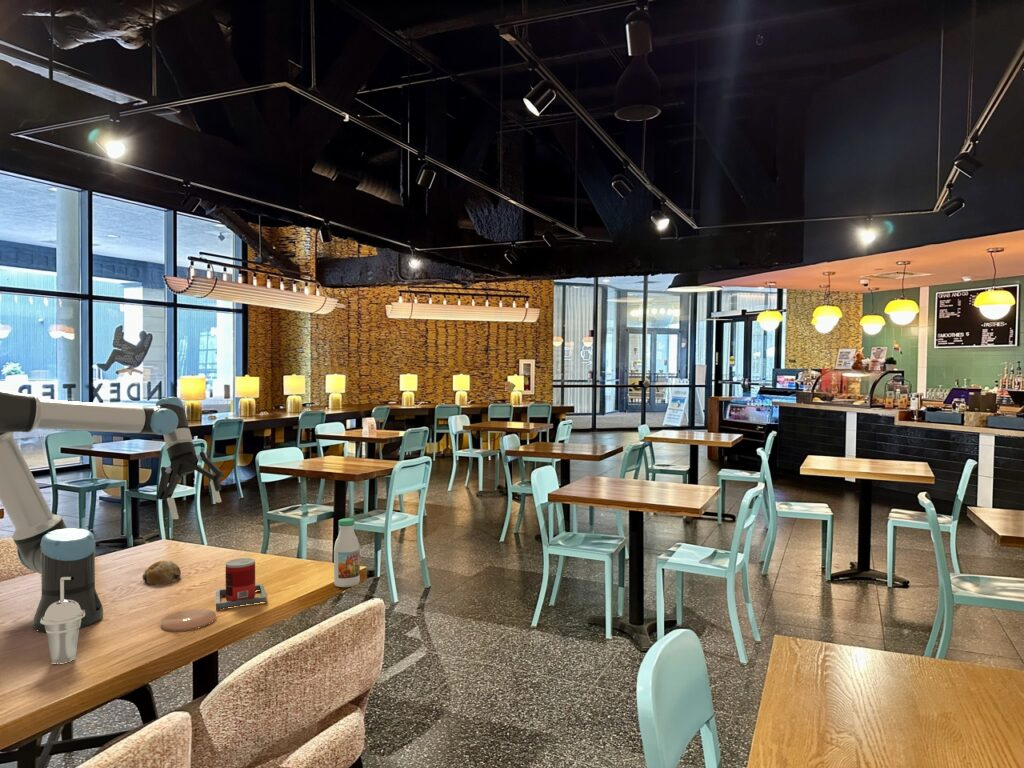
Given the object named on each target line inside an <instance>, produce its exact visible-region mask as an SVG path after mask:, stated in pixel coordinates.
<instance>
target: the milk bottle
mask: <svg viewBox="0 0 1024 768" xmlns="http://www.w3.org/2000/svg"><path fill="white" fill-rule="evenodd" d="M338 527H339V531H338V535H337V538H336V540H335V542H334V548H333V583H334V585H335V587H339V588H350V587H355V586H357V585H359V584H360V581H361V580H360V579H361V573H360V571H361V569H360V567H361V563H360V562H361V559H360V555H361V554H360V542H359V539H358V537H357V535H356V533H355V529H354V527H355V519H354V518H352V517H351V518H350V517H347V518H341V519H339V520H338Z"/></svg>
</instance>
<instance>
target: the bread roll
mask: <svg viewBox="0 0 1024 768" xmlns="http://www.w3.org/2000/svg"><path fill="white" fill-rule="evenodd" d="M181 575H182V573H181V568H180V567H179V565H178V564H177V563H176V562H174V561H172V560H159V561H156V562H154V563H152V564H150V565H149V566H148V567H147V569H145V570H144V573H143V574H142V576H141V577H142V580H143V581H144V583H145V582H146V583H145V584H146V585H151V584H152V585H151V586H153V585H154V586H155V585H166V584H170V583H175V582H176V581H178V580H179V579H180V578H181Z"/></svg>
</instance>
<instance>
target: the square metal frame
mask: <svg viewBox="0 0 1024 768" xmlns="http://www.w3.org/2000/svg"><path fill="white" fill-rule="evenodd" d="M256 590H260V591H259V593H260V592H261V594H260V596H255V597H254V598H247V599H240V600H232V601H227V600H225V601H221V597H222V596H221V595H226V588H220V589H215V611H218V610H217V609H222V610H224V609H223V608H228V607H234V606H240V605H246V604H254V603H260V602H266V603H267V594H266V589H265V585H264V583H260V584H259V583H258V584H255V591H256Z"/></svg>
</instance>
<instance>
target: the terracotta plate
mask: <svg viewBox="0 0 1024 768" xmlns="http://www.w3.org/2000/svg"><path fill="white" fill-rule="evenodd" d="M215 618H216V619H217V613H216V611H214V610H211V609H207V608H206V609H205V608H196V609H187V610H186V609H185V610H181V611H177V612H174V613H171V614H169V615H167V616H165V617H163V618H162V619H161V620H160V628H161V629H162V630H164V631H169V632H185V631H192V629H193V630H197V629H199V628H198V627H201V628H203V627H202V626H204V625H207V624H209V623H211V622H212V621H214V620H215V621H216V619H215ZM215 621H214V622H215ZM212 623H213V622H212ZM212 623H211V624H212ZM209 625H210V624H209ZM207 626H208V625H207ZM204 627H205V626H204ZM196 628H197V629H196Z"/></svg>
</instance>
